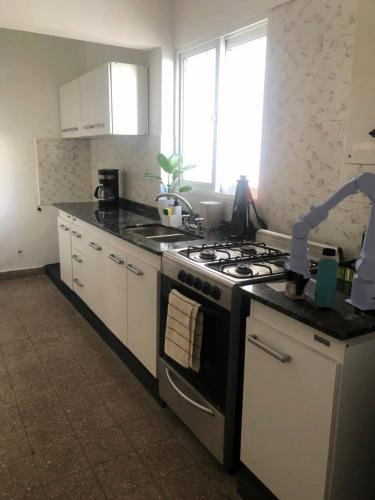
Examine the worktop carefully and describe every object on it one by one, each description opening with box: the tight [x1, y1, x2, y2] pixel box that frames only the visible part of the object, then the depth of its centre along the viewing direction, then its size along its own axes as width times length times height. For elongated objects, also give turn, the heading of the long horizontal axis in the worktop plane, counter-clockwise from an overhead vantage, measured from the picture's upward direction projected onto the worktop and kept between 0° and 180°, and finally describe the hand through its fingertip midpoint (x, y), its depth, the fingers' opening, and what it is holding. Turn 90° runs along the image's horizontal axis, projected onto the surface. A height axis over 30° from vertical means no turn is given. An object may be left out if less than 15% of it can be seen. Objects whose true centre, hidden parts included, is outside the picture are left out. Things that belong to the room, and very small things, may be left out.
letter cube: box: [284, 281, 306, 300], centre depth 148 cm, size 5×5×5 cm
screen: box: [305, 278, 316, 302], centre depth 148 cm, size 8×3×6 cm, turn 16°
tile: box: [265, 282, 286, 293], centre depth 158 cm, size 9×9×1 cm
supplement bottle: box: [298, 248, 312, 275], centre depth 168 cm, size 7×7×13 cm
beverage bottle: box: [313, 247, 339, 308], centre depth 135 cm, size 6×7×20 cm
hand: (294, 292), depth 148 cm, fingers closed on letter cube, 5 cm apart
